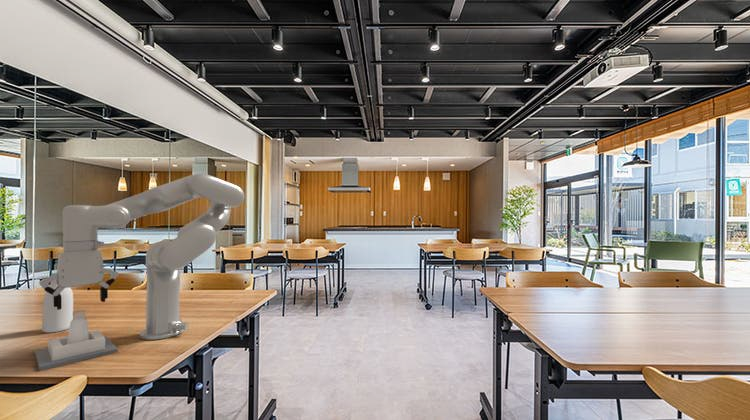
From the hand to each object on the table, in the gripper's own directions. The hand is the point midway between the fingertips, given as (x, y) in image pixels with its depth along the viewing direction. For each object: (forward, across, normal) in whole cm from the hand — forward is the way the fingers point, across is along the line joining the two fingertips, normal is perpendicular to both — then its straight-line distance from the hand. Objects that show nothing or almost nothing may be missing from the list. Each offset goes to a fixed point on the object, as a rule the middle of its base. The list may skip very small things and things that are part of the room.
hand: (81, 304), depth 95 cm
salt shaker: (+13, +1, 0) cm, 13 cm away
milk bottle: (+14, +3, -33) cm, 36 cm away
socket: (+14, +1, 0) cm, 14 cm away
